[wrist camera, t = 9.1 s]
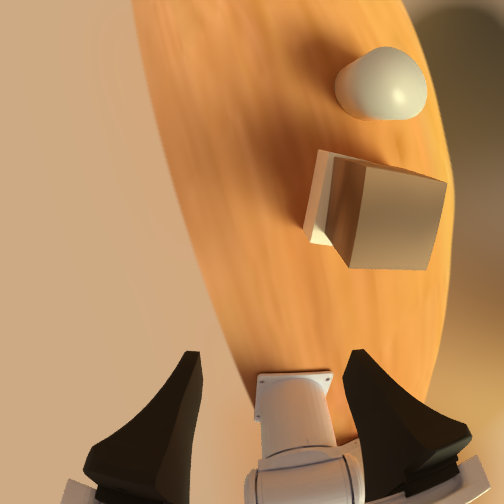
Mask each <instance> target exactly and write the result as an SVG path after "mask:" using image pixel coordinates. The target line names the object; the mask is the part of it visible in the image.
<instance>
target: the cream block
mask: <svg viewBox="0 0 504 504" xmlns="http://www.w3.org/2000/svg"><path fill="white" fill-rule="evenodd" d="M334 157H341V158H348V159H354V160H361V161H366V160H362V159H358V158H354V157H350V156H346V155H342V154H338V153H333V152H329V151H324V150H320V149H318V153H317V159H316V164H315V170H314V175H313V180H312V185H311V191H310V196H309V201H308V205H307V210H306V215H305V220H304V225H303V231H304V233H305V234H306V236H307V238H308V240H309V242H310V243H316V244H323V245H330V246H333V245H332V243H331V242H330V240H329V239H328V238H327V236H326V235H325V233H324V232H325V226H326V219H327V212H328V204H329V196H330V188H331V180H332V171H333V162H334ZM367 162H369V161H367Z"/></svg>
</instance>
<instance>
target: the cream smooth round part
mask: <svg viewBox="0 0 504 504" xmlns="http://www.w3.org/2000/svg"><path fill="white" fill-rule="evenodd" d="M334 90H335V95H336V98H337V100H338V102H339V104H340V105H341V107H342V108H343V109H344V110H345V111H346V112H347V113H348V114H349V115H351V116H352V117H354V118H357V119H360V120H365V121H370V120H405V119H410V118H413V117H415V116H416V115H417V114H419V113H420V112H421V110H422V109H423V107H424V105H425V102H426V98H427V86H426V81H425V78H424V75H423V73H422V71H421V69H420V68H419V66H418V65H417V64H416V62H415V61H414V60H413V59H412V58H411V57H410V56H408V55H407V54H406V53H404V52H402V51H400V50H398V49H396V48H392V47H379V48H376V49H374V50H372V51H370V52H369V53H367V54H365V55H363V56H362V57H360V58H358V59H357V60H355V61H353V62H352V63H350V64H348V65H347V66H345V67H343V68H342V69H341V70H340V71H339V73H338V74H337V76H336V79H335V84H334Z"/></svg>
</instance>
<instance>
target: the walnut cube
mask: <svg viewBox="0 0 504 504" xmlns="http://www.w3.org/2000/svg"><path fill="white" fill-rule="evenodd" d="M446 187H447V183H445V182H443V181H440V180H437V179H434V178H431V177H428V176H425V175H422V174H419V173H416V172H413V171H410V170H407V169H403V168H399V167H394V166H389V165H384V164H378V163H373V162H367V161H361V160H354V159H348V158H341V157H334V162H333V171H332V180H331V188H330V196H329V204H328V212H327V219H326V226H325V232H324V233H325V235H326V236H327V238H328V239H329V240H330V242H331V243H332V245H333V246H334V247H335V249H336V250H337V252H338V253H339V255H340V256H341V257H342V259H343V260H344V262H345V263H346V265H347V266H348V268H355V269H389V270H427V266H428V263H429V260H430V256H431V253H432V249H433V246H434V242H435V238H436V234H437V230H438V226H439V222H440V218H441V213H442V208H443V203H444V198H445V193H446Z"/></svg>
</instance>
